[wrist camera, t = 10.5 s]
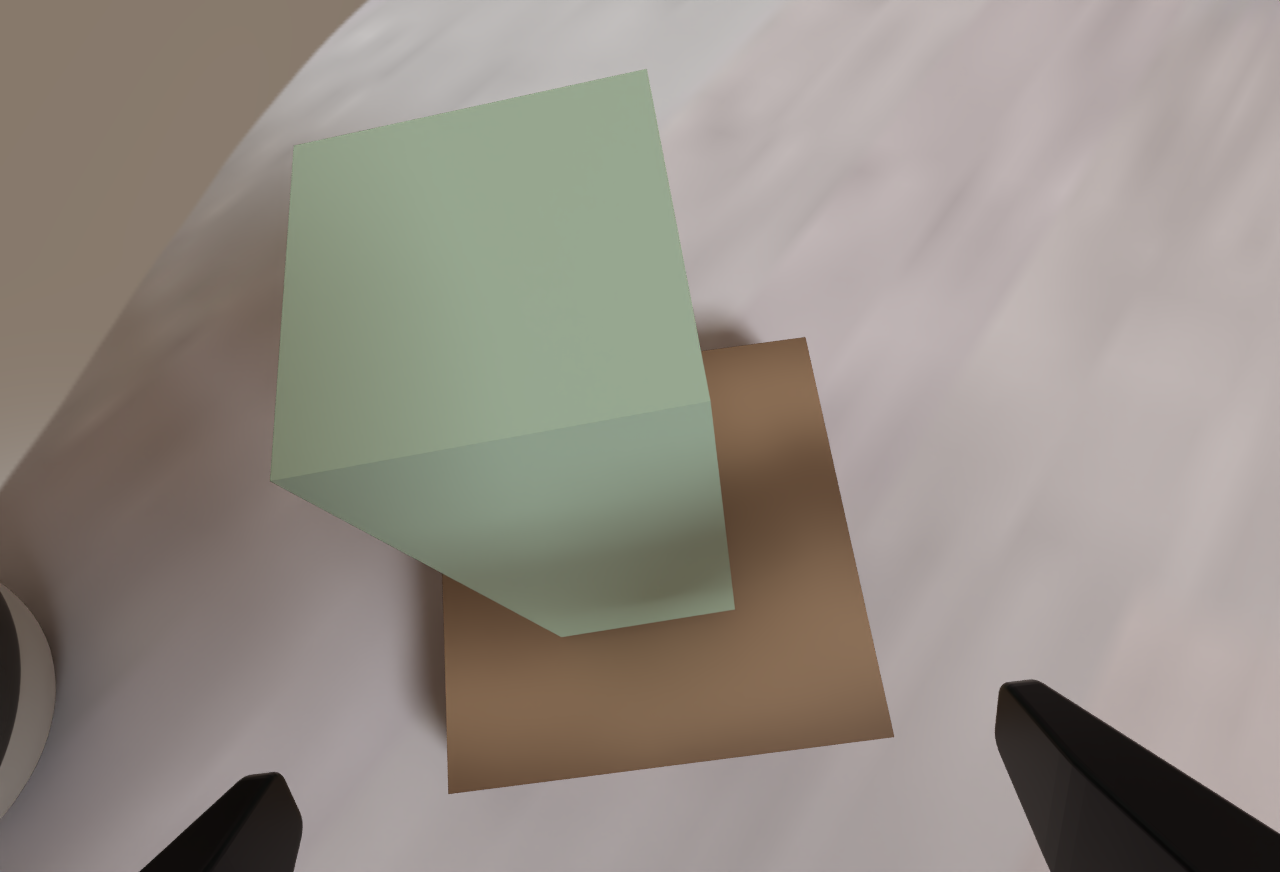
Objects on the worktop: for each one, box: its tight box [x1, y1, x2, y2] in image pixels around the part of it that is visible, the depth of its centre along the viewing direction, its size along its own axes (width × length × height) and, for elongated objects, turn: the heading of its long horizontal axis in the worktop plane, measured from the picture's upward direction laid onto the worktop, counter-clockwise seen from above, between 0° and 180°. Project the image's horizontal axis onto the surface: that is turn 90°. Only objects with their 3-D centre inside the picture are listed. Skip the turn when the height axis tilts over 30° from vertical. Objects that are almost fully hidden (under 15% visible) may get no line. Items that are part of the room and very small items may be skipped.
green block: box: [270, 69, 735, 637], centre depth 14 cm, size 4×4×12 cm
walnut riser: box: [442, 337, 894, 794], centre depth 21 cm, size 11×11×4 cm
